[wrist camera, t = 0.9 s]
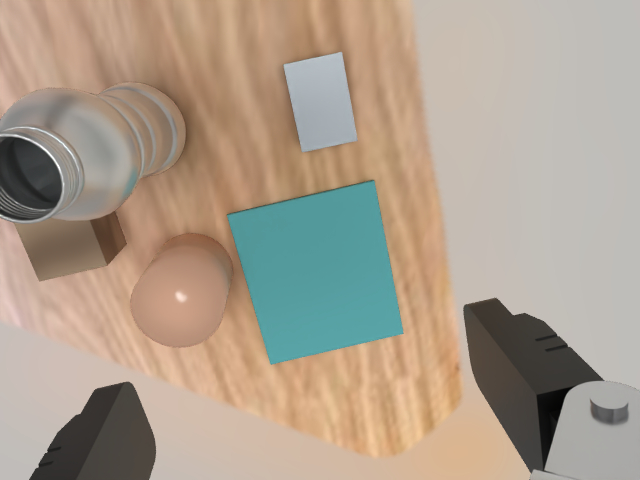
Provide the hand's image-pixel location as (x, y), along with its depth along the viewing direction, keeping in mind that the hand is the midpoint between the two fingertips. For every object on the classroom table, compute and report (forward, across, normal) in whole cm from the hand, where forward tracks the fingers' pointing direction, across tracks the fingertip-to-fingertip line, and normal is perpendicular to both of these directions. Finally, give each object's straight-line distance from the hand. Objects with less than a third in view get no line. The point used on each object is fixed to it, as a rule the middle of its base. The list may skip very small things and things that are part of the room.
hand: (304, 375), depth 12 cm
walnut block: (+30, +17, +1) cm, 34 cm away
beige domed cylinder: (+30, +10, +7) cm, 32 cm away
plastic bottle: (+30, +10, -5) cm, 32 cm away
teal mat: (+30, 0, +10) cm, 31 cm away
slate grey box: (+30, -3, -4) cm, 30 cm away
